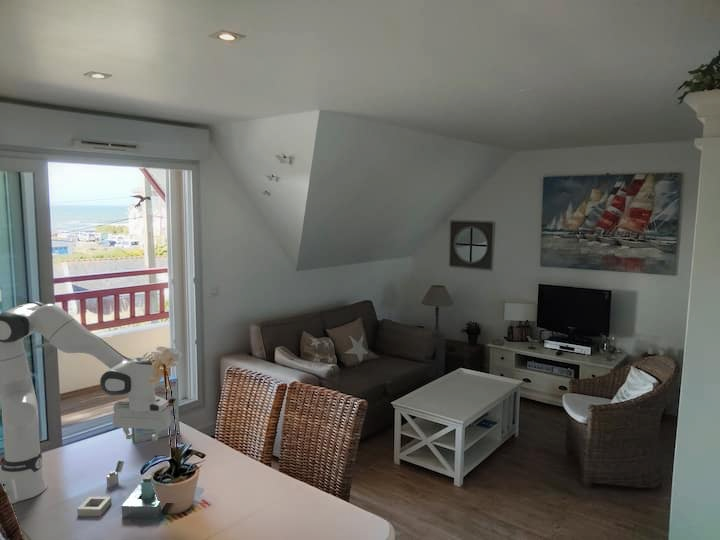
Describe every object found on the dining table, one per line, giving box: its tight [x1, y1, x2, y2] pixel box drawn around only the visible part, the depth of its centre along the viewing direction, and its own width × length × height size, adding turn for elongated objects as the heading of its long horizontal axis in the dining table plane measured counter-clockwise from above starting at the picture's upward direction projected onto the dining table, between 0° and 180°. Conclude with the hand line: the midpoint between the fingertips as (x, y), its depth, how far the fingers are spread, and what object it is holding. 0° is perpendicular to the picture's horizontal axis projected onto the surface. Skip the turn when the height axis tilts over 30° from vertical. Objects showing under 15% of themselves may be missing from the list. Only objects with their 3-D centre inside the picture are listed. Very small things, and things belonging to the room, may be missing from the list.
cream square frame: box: [76, 495, 112, 517], centre depth 187 cm, size 8×8×2 cm
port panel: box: [121, 484, 162, 520], centre depth 188 cm, size 12×14×5 cm
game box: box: [131, 375, 181, 444], centre depth 245 cm, size 21×6×27 cm, turn 123°
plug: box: [140, 475, 155, 499], centre depth 188 cm, size 4×4×10 cm
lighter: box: [106, 460, 125, 489], centre depth 204 cm, size 7×2×8 cm, turn 156°
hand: (141, 439), depth 192 cm, fingers open, 8 cm apart
